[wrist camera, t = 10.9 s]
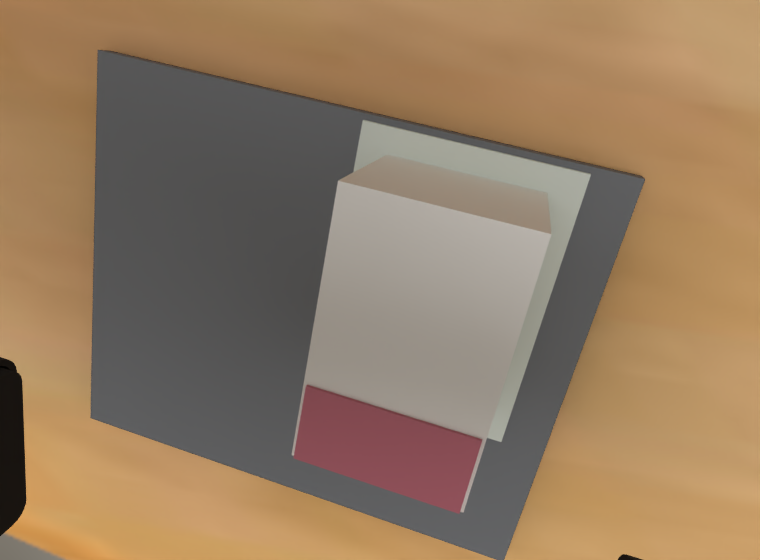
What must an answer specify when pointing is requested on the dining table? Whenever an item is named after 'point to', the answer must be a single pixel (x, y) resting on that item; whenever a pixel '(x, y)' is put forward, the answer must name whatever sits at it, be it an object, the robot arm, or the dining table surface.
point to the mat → (302, 278)
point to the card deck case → (417, 325)
